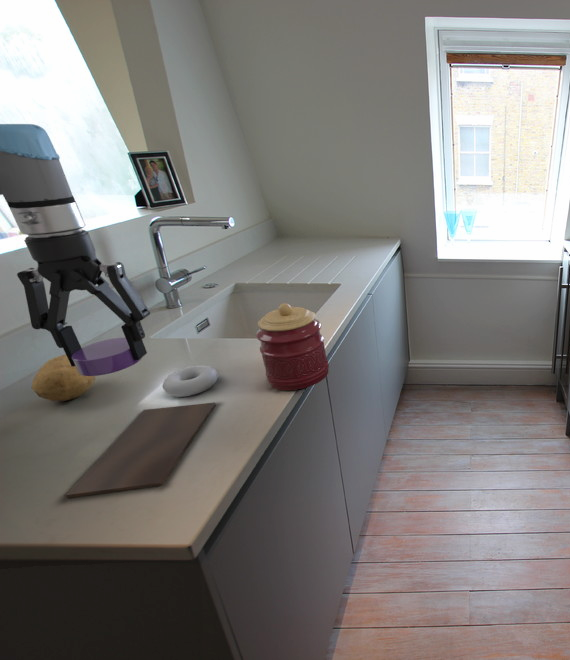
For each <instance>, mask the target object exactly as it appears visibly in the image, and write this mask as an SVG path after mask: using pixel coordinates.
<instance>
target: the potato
mask: <svg viewBox="0 0 570 660" xmlns="http://www.w3.org/2000/svg"><path fill="white" fill-rule="evenodd" d="M95 380H96V376H83V375H81V374H79V373H78V370H77V368H76V366H71V364H70V362H69V360H68V358H67V356H66V354H63V355H59V356H55V357H53V358H51V359H49V360H48V361H46V362H45V363H44V364H43V365H42V366H41V367H40V369H38V371H37V373H36V374H35V376H34V377H33V380H32V382H31V390H33V392H34V393H35V394H36V395H37V397H38V398H42V399H45V400H48V401H51V402H64V401H65V402H66V401H70V400H73V399H76V398H79V397H81V396H82V395H84V394H85V393H86V392H87V391H88V390H90V388H91V387H92V386H93V385H94V383H95Z"/></svg>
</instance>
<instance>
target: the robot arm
mask: <svg viewBox="0 0 570 660" xmlns="http://www.w3.org/2000/svg"><path fill="white" fill-rule="evenodd" d="M60 159H61V157H60V155H59V154H58V153H57V151H56V149H55V147H54V144H53V142H52V140H51V138H50V136H49V134H48V132H47V131H46V129H44V128H43V127H41V126H40V125H38V124H33V123H0V196H1V195H2V197H3V198H4V200H5V202H6V204H7V206H8V208H9V210H10V212H11V215H12V217H13V219H14V221H15V223H16V225H17V227H18V229H19V232H20V233H21V234H23V235H26V236H25V239H24V244H25V246H26V248H27V249H28V252H29V254H30V256H31V259H32V260H33V261H35V262H36V263H37V268H34V267H30V268H26V269H24V270H22V271H19V272H17V273H16V276H17V278H18V280H19V281H20V283H21V284H22V286H23V288H24V293H25V294H24V295H25V298H26V304H27V309H28V313H29V319H30V324H31V328H33V329H34V330H46V331H47V332H49V333H50V334H51V336H52V339H53V341H54V343H55V345H56V346H57V348H59V349H63V351H64V354H65V355H66V356H67V358H68V360H69V362H70V364H71V366H75V364H74V362H73V360H72V355H73V353H74V352H76V351H77V350H79V349H81V348H82V345H81V344H80V341H79V339H78V337H77V335H76V333H75V331H74V328H73V325H68V322H66V319H67V318H66V317H67V311H68V306H69V301H70V293H71V292H73V291H76V290H77V291H87V292H88V293H89V294H90V295H93V296H95V297H96V298H97V299H98V300H100V302H102V303H103V304H104V305H105V306H106V307H107V308H108V309H109V310H110V311H111V312H112V313H114V314H115V316H117V317H118V318H119V319H120V320H121V321H122V322H123V323H124V324H122V325H121V326H120V328H121V330H122V333H123V335H124V338H126V340H127V342H128V345H129V347H130V350H131V352H132V355H133V357H134V360H140V359H141V358H142V359H143V357H144V356H146V355H147V354H148V352H147V349H146V346H145V344H144V341H143V339H145V337H146V333H145V330H144V327H143V325H142V322H141V321H143V320H145V318H147V317H148V316H150V315H151V311H150V310H149V308H148V306H147V305H146V303H145V301H143V299H142V297H141V295H140V294H139V293H138V290H136V288H135V287H134V286H133V283H132V282H131V281H130V279H129V277H128V276H127V274H126V270H125V265H124V264H123V263H122V262H121V261H117V262H115V263H103V262H101V260H99V258H98V257H97V255H96V248H95V245H94V243H93V240H92V238H91V236H90V233H89V231H87V230H86V229H84V228H85V227H86V222H85V220H84V218H83V216H82V213H81V210H80V208H79V205H78V203H77V201H76V199H75V197H74V195H73V192H72V190H71V187H70V185H69V182H68V180H67V176H66V173H65V171H64V168H63V166H62V164H61V161H60ZM102 273H104V276H105V278H108V279H109V281H110V283H111V285H112V286H113V287H114V289H115V290H114V289H112V287H110V283H109V282H108V281H106V279H105V278H104V277H103V276H102ZM44 279H46V280H47V281H48V282H50V285H49V292H48V294H49V295H50V299H49V301H48V296H47V292H46V286H45V282H44ZM48 302H49V303H48ZM65 325H66V326H65ZM142 359H141V360H142ZM141 360H140V361H141Z"/></svg>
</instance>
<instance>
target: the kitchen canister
mask: <svg viewBox="0 0 570 660" xmlns="http://www.w3.org/2000/svg"><path fill="white" fill-rule="evenodd" d="M257 326H258V328H259V329H258V330H257V331H256V333H255V337H256V339H257V340H258V341H260V346H259V352H260V354H261V357H262V361H263V365H264V369H265V377H266V380H267V382H268V383H269V386H271V387H272V388H273V389H276V390H279V391H298V390H302V389H303V390H304V389H307V388H310V387H312V386H315V385H317V384H319V383H321V382H322V381H323V380H324V379H326V378H327V375H329V368H330V366H329V365H330V364H329V360H328V359H327V353H326V348H325V343H324V341H325V340H324V339H325V338H324V336H323V334H322V333H321V329H322V323H321V322H320V321H319V320H318V319H316V313H315V312H313V310H309V309H307V308H304V307H300V306H291V305H290V304H289V303H286V302H284V303H281V304H280V305H279V306H278V307H277V309H273V310H271V311H269V312H268V313H266V314H265V315H264V316H263V317H262V318H260V319H259V320H258V322H257Z"/></svg>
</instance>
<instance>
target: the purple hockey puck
mask: <svg viewBox="0 0 570 660" xmlns="http://www.w3.org/2000/svg"><path fill="white" fill-rule="evenodd" d="M142 359H143V357H142V358H141V359H140V360H134V357H133V355H132V352H131V350H130V347H129V345H128V342H127V340H126V338H125V337H115V338H107V339H104V340H99V341H98V342H97V341H96V342H93V343H91V344H87V345H85V346H83V347H81V349H79V350H77V351H76V352H74V353H73V355H72V360H73V362H74V364H75V366H76V368H77V370H78V373H79V374H81V375H83V376H95V377H97V376H98V377H99V376H105V375H109V374H113V373H117V372H120V371H122V370H125V369H127V368H130V367H132V366H135V365H136V364H137V363H139V362H140V361H141V360H142Z"/></svg>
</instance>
